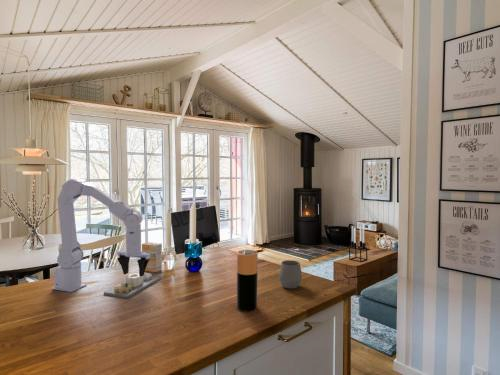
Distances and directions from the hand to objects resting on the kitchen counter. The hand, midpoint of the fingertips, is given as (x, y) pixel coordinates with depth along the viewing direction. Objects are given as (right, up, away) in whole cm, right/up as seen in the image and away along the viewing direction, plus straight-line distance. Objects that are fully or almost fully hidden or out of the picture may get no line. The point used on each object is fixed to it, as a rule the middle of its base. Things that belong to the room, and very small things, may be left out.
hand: (133, 274), depth 132 cm
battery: (+46, -7, -19) cm, 51 cm away
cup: (+64, -6, +2) cm, 64 cm away
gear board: (0, -5, 0) cm, 5 cm away
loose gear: (0, -4, 0) cm, 4 cm away
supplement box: (+1, -4, +21) cm, 21 cm away
